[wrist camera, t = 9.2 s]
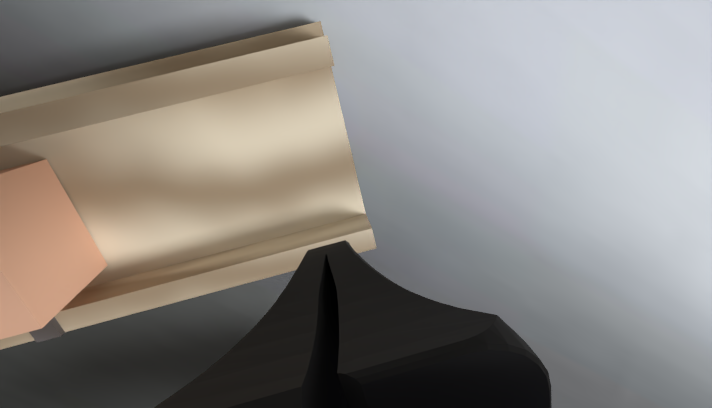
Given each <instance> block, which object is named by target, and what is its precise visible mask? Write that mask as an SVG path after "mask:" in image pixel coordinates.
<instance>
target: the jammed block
mask: <svg viewBox="0 0 712 408" xmlns="http://www.w3.org/2000/svg"><path fill="white" fill-rule="evenodd" d="M106 266H107V263H106V261H105V259H104V258H103V256H102V254H101V252H100V251H99V249H98V247H97V246H96V244H95V242H94V240H93V239H92V237H91V235H90V233H89V232H88V230H87V228H86V226H85V225H84V223H83V221H82V220H81V218H80V216H79V214H78V213H77V211H76V209H75V207H74V206H73V204H72V202H71V200H70V199H69V197H68V195H67V194H66V192H65V190H64V188H63V187H62V185H61V183H60V181H59V180H58V178H57V176H56V174H55V173H54V171H53V169H52V168H51V166H50V164H49V162H48V161H47V159H45V160H41V161H37V162H33V163H28V164H24V165H20V166H16V167H12V168H8V169H4V170H0V339H4V338H8V337H12V336H15V335H19V334H23V333H27V332H30V331H34V330H38V329H42V328H43V327H44V326H45V325H46V324H47V323H48V322H49V321H50V320H51V319H52V318H53V317H54V316H55V315H57V314H58V313H59V312H60V311H61V310H62V309H63V308H64V307H65V306H66V305H67V304H68V303H69V302H70V301H71V300H72V299H73V298H74V297H75V296H76V295H77V294H78V293H79V292H80V291H81V290H83V289H84V288H85V287H86V286H87V285H88V284H89V283H90V282H91V281H92V280H93V279H94V278H95V277H96V276H97V275H98V274H99V273H100V272H101V271H102V270H103V269H104V268H105V267H106Z"/></svg>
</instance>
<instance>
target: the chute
mask: <svg viewBox="0 0 712 408" xmlns="http://www.w3.org/2000/svg"><path fill="white" fill-rule="evenodd" d="M331 66H334V62H333V58H332V54H331V49H330V45H329V41H328V36H324V34H323V30H322V26H321V21H319V22H315V23H311V24H307V25H302V26H298V27H294V28H290V29H285V30H281V31H277V32H273V33H269V34H264V35H260V36H256V37H252V38H247V39H243V40H239V41H235V42H230V43H226V44H222V45H218V46H214V47H209V48H205V49H201V50H197V51H192V52H188V53H184V54H180V55H175V56H171V57H167V58H163V59H159V60H154V61H150V62H146V63H142V64H137V65H133V66H129V67H125V68H121V69H116V70H112V71H108V72H104V73H99V74H95V75H91V76H87V77H82V78H78V79H74V80H70V81H66V82H61V83H57V84H53V85H49V86H44V87H40V88H36V89H32V90H27V91H23V92H19V93H15V94H11V95H6V96H2V97H0V170H4V169H8V168H12V167H16V166H20V165H24V164H28V163H33V162H37V161H41V160H45V159H47V161H48V162H49V164H50V166H51V168H52V169H53V171H54V173H55V174H56V176H57V178H58V180H59V181H60V183H61V185H62V187H63V188H64V190H65V192H66V194H67V195H68V197H69V199H70V200H71V202H72V204H73V206H74V207H75V209H76V211H77V213H78V214H79V216H80V218H81V220H82V221H83V223H84V225H85V226H86V228H87V230H88V232H89V233H90V235H91V237H92V239H93V240H94V242H95V244H96V246H97V247H98V249H99V251H100V252H101V254H102V256H103V258H104V259H105V261H106V263H107V266H106V267H105V268H104V269H103V270H102V271H101V272H100V273H99V274H98V275H97V276H96V277H95V278H94V279H93V280H92V281H91V282H90V283H89V284H88V285H87V286H86V287H85V288H84V289H83V290H81V291H80V292H79V293H78V294H77V295H76V296H75V297H74V298H73V299H72V300H71V301H70V302H69V303H68V304H67V305H66V306H65V307H64V308H63V309H62V310H61V311H60V312H59V313H58V314H57V315H55V316H54V317H53V318H52V319H51V320H50V321H49V322H48V323H47V324H46V325H45V326H44V327H43V328H42V329H38V330H34V331H30V332H27V333H23V334H19V335H15V336H12V337H8V338H4V339H0V350H1V349H4V348H8V347H12V346H15V345H19V344H23V343H27V342H30V341H34V340H35V341H36V342H37V343H38V342H42V341H45V340H49V339H53V338H57V337H60V336H62V335H63V334H64V333H65V332H67V331H71V330H75V329H79V328H82V327H86V326H90V325H93V324H97V323H101V322H104V321H108V320H112V319H116V318H119V317H123V316H127V315H130V314H134V313H138V312H142V311H145V310H149V309H153V308H156V307H160V306H164V305H168V304H171V303H175V302H179V301H182V300H186V299H190V298H194V297H197V296H201V295H205V294H208V293H212V292H216V291H220V290H223V289H227V288H231V287H234V286H238V285H242V284H246V283H249V282H253V281H257V280H260V279H264V278H268V277H272V276H275V275H279V274H283V273H286V272H290V271H294V270H297V268H298V266H299V265H300V263H301V261H302V259H303V257H304V256H305V254H306V252H307V251H308V250H310V249H314V248H318V247H321V246H325V245H329V244H333V243H336V242H340V241H344V240H346V241H347V242H349V244H350V245H351V247H352V248H353V249H354V250H355V252H356V253H361V252H364V251H368V250H372V249H375V248H376V244H375V240H374V235H373V231H372V227H371V225H370V223H369V220H368V218H367V216H366V213H365V209H364V205H363V200H362V196H361V192H360V188H359V183H358V179H357V175H356V171H355V166H354V162H353V158H352V153H351V149H350V145H349V141H348V136H347V132H346V128H345V124H344V119H343V115H342V111H341V107H340V102H339V98H338V94H337V90H336V85H335V81H334V77H333V72H332V68H331Z"/></svg>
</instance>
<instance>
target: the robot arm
mask: <svg viewBox="0 0 712 408" xmlns="http://www.w3.org/2000/svg"><path fill="white" fill-rule="evenodd" d="M154 408H551V384H550V379H549V374H548V371H547V370H546V368H545V367H544V365H543V363H542V362H541V360H540V359H539V358H538V357H537V355H536V354H535V353H534V352H533V350H532V349H531V348H530V347H529V346H528V345H527V343H526V342H525V341H524V340H523V339H522V338H521V337H520V336H519V335H518V334H517V333H516V332H515V331H514V330H512V329H511V328H510V327H509V326H508V325H507V324H506V323H505V322H504V321H503V320H502V319H501V318H500V317H499V316H497V315H493V314H488V313H483V312H477V311H472V310H466V309H461V308H457V307H453V306H450V305H446V304H443V303H439V302H436V301H433V300H430V299H427V298H425V297H422V296H420V295H418V294H415V293H413V292H410V291H408V290H406V289H404V288H402V287H401V286H399V285H397V284H395V283H394V282H392V281H390V280H389V279H387V278H386V277H384V276H383V275H382V274H380V273H379V272H378V271H376V270H375V269H374V268H372V267H371V266H370V265H369V264H368V263H367V262H366V261H364V260H363V259H362V258H361V257H360V256H359V255H358V254H357V253H356V252H355V250H354V249H353V248H352V247H351V245H350V244H349V242H347V241H346V240H344V241H340V242H336V243H333V244H329V245H325V246H321V247H318V248H314V249H310V250H308V251H307V252H306V254H305V256H304V257H303V259H302V261H301V263H300V265H299V266H298V268H297V270H296V272H295V273H294V275H293V277H292V278H291V280H290V282H289V283H288V285H287V286H286V288H285V289H284V291H283V292H282V294H281V295H280V296H279V298H278V299H277V301H276V302H275V303H274V305H273V306H272V307H271V309H270V310H269V311H268V312H267V313H266V315H265V316H264V317H263V318H262V319H261V320H260V321H259V322H258V324H257V325H256V326H255V327H254V328H253V329H252V330H251V331H250V332H249V333H248V334H247V335H246V336H245V337H244V338H243V339H242V340H241V341H240V342H238V343H237V344H236V345H235V346H234V347H233V348H232V349H231V350H230V351H229V352H228V353H227V354H226V355H224V356H223V357H222V358H221V359H220V360H218V361H217V362H216V363H215V364H214V365H213V366H211V367H210V368H209V369H207V370H206V371H205V372H204V373H202V374H201V375H200V376H199V377H197V378H196V379H195V380H193V381H192V382H191V383H189V384H188V385H186V386H185V387H184V388H182V389H181V390H179V391H178V392H176V393H175V394H173V395H172V396H170V397H169V398H168V399H166V400H165V401H163V402H162V403H160V404H159V405H157V406H156V407H154Z"/></svg>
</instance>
